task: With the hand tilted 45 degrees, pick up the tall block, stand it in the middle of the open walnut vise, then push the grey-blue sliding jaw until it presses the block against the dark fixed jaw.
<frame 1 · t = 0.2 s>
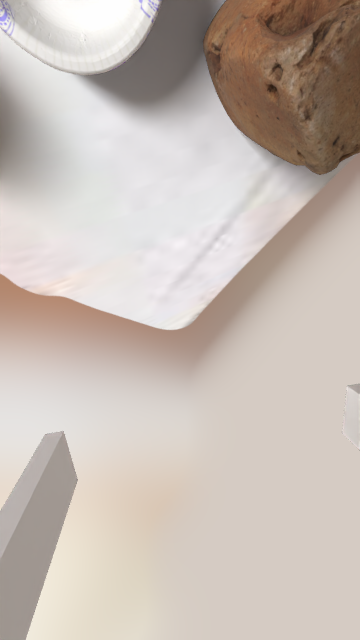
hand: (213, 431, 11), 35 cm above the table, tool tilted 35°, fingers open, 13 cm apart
block: (239, 66, 28), on the table
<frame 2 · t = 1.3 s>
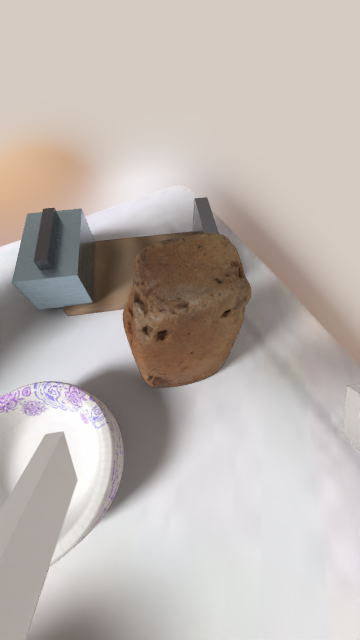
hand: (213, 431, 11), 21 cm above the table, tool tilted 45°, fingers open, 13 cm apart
sliding jaw: (58, 254, 36), point 6 cm above the table, slide at 6.5 cm
vise base: (141, 272, 42), on the table
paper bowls: (65, 462, 29), on the table
block: (178, 363, 35), on the table
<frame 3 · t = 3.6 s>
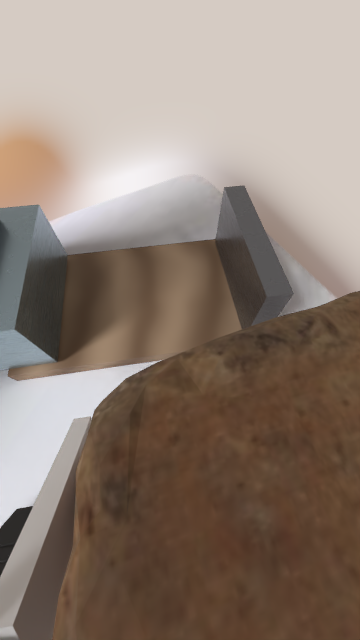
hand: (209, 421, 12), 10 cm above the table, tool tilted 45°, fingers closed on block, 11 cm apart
vise base: (138, 303, 27), on the table
block: (203, 473, 20), on the table, touching gripper
when the fingers open (13 cm above the table, at t = 9.6 s): block stays where it is, resting on vise base.
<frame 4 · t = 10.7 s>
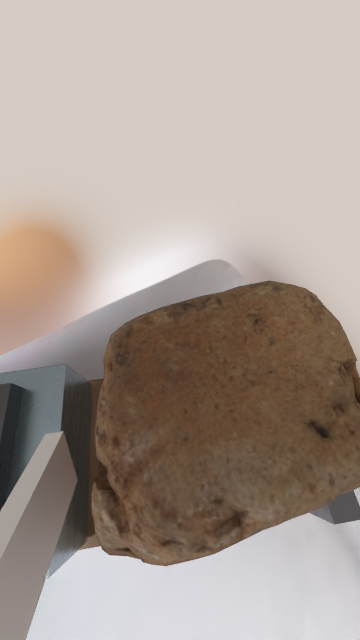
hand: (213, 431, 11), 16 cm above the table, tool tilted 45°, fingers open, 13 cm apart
sliding jaw: (20, 460, 19), point 6 cm above the table, slide at 6.5 cm
vise base: (169, 440, 25), on the table
block: (189, 438, 24), point 1 cm above the table, touching vise base
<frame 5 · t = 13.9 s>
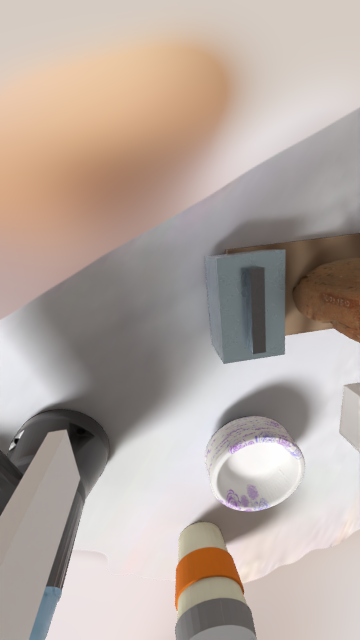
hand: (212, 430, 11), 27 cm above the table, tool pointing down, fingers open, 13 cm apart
sliding jaw: (245, 305, 32), point 6 cm above the table, slide at 6.5 cm
reusable coffee cup: (199, 536, 51), on the table
vise base: (302, 287, 38), on the table
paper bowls: (241, 438, 45), on the table
block: (321, 287, 37), point 1 cm above the table, touching vise base
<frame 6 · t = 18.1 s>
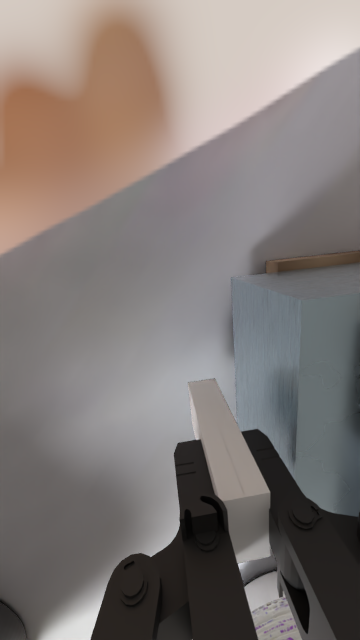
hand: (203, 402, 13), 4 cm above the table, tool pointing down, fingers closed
sliding jaw: (345, 413, 12), point 6 cm above the table, slide at 5.9 cm, touching gripper
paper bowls: (274, 596, 25), on the table
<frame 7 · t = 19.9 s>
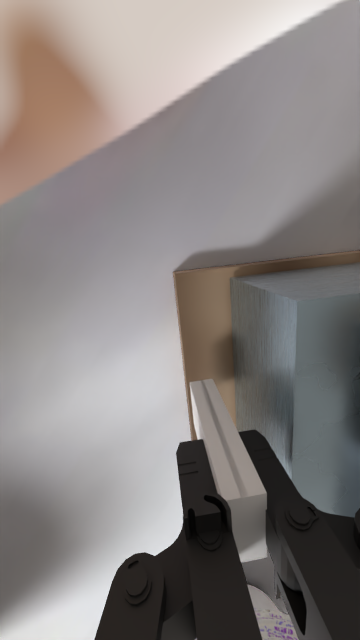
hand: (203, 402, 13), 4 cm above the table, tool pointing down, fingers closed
sliding jaw: (343, 414, 12), point 6 cm above the table, slide at 0.1 cm, touching block, gripper
vise base: (347, 350, 18), on the table
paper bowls: (219, 608, 25), on the table
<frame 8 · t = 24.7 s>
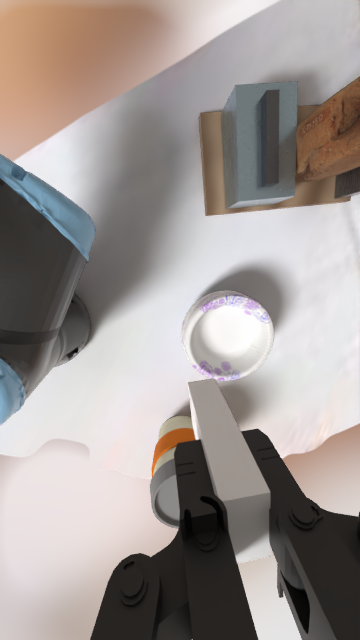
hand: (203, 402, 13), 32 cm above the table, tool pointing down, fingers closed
sliding jaw: (259, 151, 34), point 6 cm above the table, slide at 0.1 cm
reusable coffee cup: (179, 432, 53), on the table
vise base: (273, 163, 40), on the table
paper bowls: (218, 326, 47), on the table
block: (303, 160, 40), point 1 cm above the table, touching vise base
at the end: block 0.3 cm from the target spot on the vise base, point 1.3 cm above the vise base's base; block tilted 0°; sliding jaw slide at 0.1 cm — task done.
